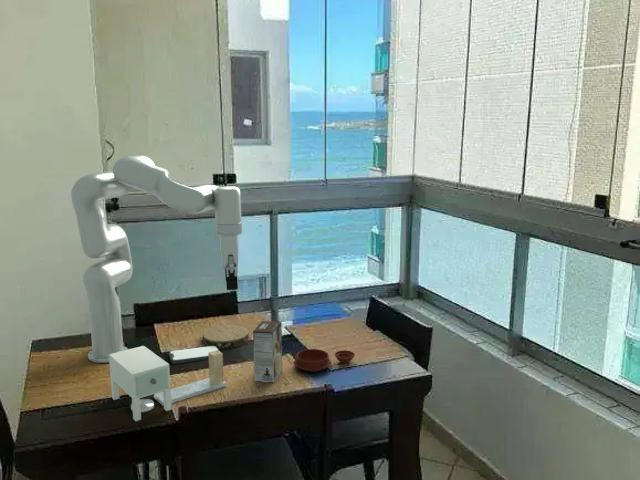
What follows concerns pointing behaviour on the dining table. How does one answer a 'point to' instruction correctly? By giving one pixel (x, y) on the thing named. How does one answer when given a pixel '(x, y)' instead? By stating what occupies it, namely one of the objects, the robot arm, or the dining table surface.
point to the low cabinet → (139, 376)
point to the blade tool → (200, 386)
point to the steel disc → (145, 405)
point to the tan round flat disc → (225, 336)
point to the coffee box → (267, 351)
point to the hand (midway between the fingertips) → (231, 285)
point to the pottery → (320, 359)
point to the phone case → (191, 354)
